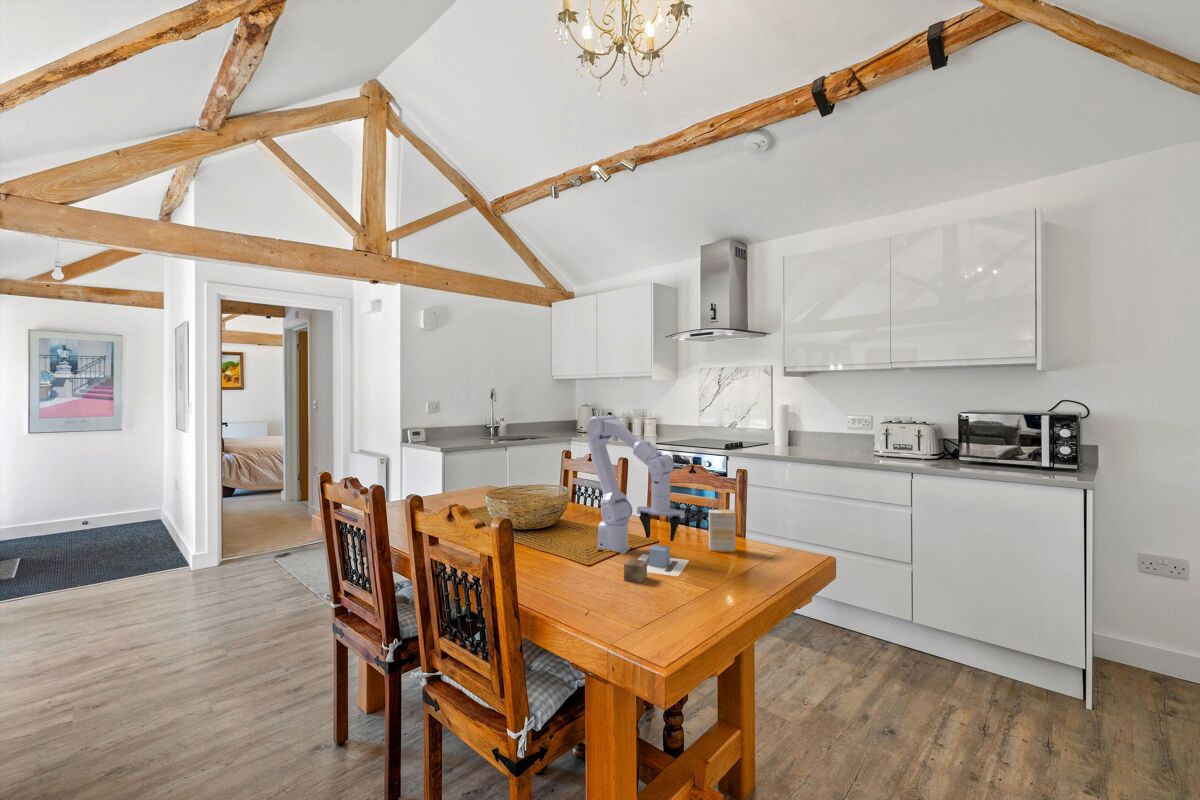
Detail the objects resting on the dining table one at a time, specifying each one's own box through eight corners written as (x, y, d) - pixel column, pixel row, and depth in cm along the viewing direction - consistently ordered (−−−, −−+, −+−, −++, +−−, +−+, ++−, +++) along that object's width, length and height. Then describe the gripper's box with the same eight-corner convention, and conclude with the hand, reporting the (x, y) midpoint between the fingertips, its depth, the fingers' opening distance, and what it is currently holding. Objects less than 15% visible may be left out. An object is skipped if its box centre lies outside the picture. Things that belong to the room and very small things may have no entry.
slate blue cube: (649, 565, 161) (649, 549, 161) (653, 560, 166) (653, 544, 166) (665, 568, 160) (665, 551, 159) (669, 562, 164) (669, 546, 164)
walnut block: (623, 582, 150) (624, 564, 149) (629, 576, 154) (630, 558, 154) (641, 584, 148) (641, 566, 147) (646, 578, 152) (647, 560, 152)
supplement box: (733, 548, 180) (733, 509, 179) (735, 553, 175) (736, 512, 174) (707, 547, 180) (708, 508, 180) (709, 552, 176) (709, 512, 175)
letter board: (627, 570, 158) (627, 569, 158) (642, 555, 172) (642, 554, 172) (678, 577, 153) (678, 576, 153) (689, 561, 167) (689, 560, 167)
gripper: (634, 495, 166) (633, 539, 166) (680, 499, 160) (680, 545, 161) (641, 491, 172) (640, 533, 173) (686, 495, 167) (685, 538, 168)
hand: (660, 538), depth 167 cm, fingers open, 7 cm apart
